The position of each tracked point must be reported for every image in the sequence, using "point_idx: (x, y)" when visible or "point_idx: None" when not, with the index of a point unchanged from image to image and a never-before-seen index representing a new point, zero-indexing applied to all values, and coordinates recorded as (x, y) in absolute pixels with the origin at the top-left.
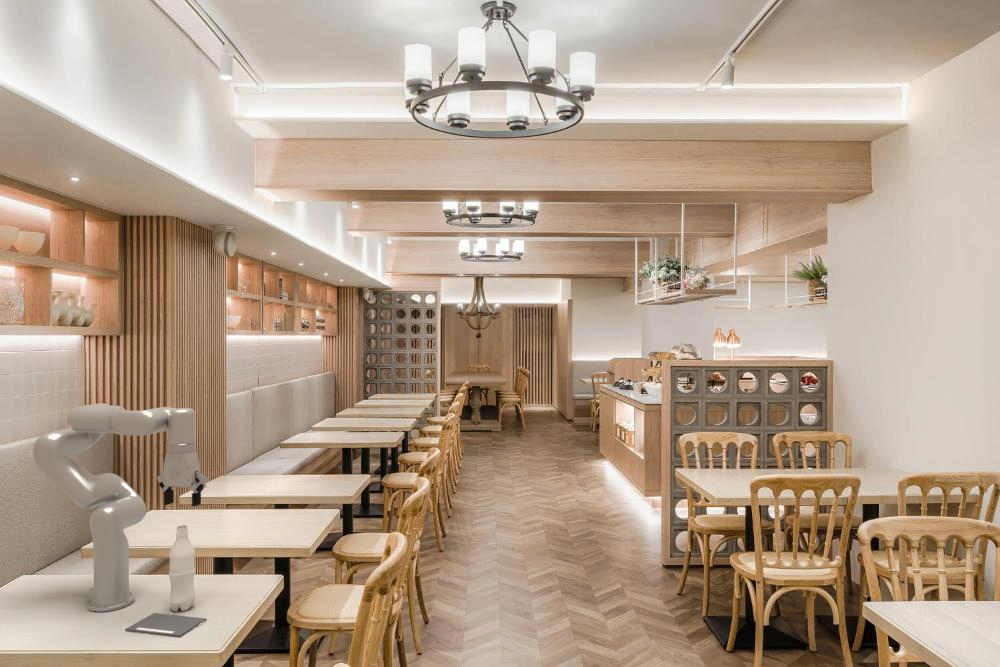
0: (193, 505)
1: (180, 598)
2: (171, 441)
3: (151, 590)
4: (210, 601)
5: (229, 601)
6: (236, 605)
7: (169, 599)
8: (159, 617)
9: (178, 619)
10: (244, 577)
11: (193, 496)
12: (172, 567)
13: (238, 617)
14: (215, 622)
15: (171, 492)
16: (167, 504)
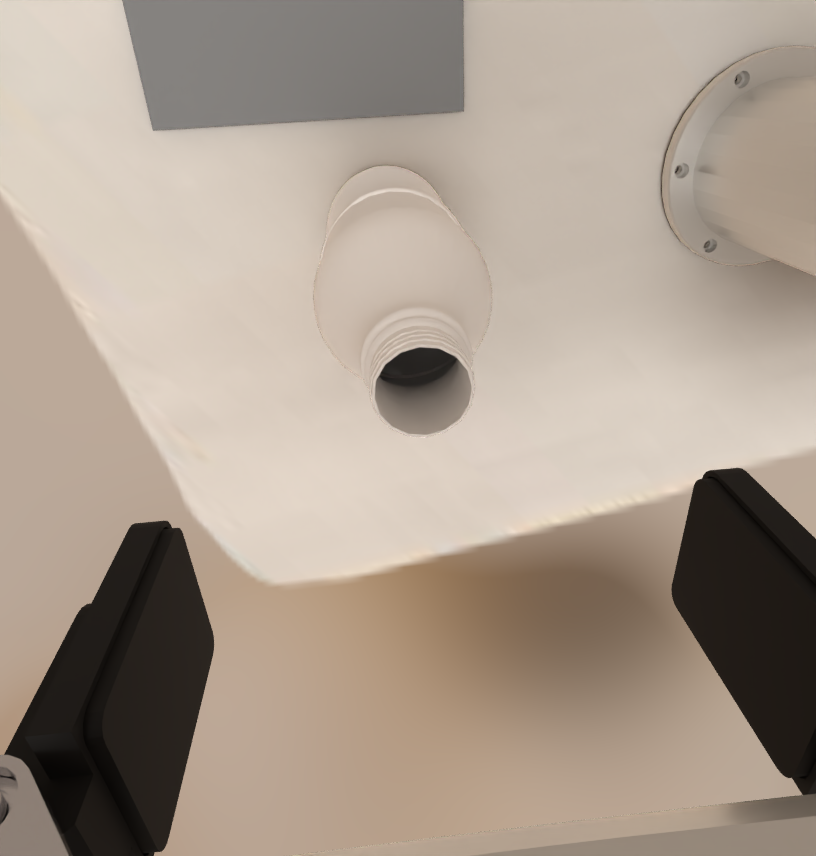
0: (137, 529)
1: (355, 184)
2: None
3: (665, 344)
4: None
5: (237, 346)
6: (171, 320)
7: (426, 181)
8: (393, 67)
9: (279, 75)
10: (372, 547)
11: (66, 669)
12: (408, 198)
13: (42, 210)
14: (94, 124)
15: (785, 719)
16: (694, 486)
